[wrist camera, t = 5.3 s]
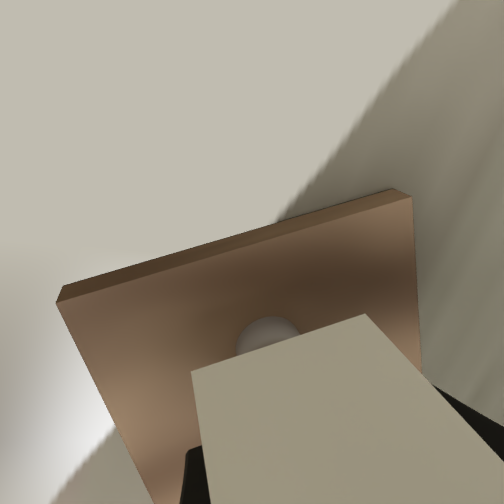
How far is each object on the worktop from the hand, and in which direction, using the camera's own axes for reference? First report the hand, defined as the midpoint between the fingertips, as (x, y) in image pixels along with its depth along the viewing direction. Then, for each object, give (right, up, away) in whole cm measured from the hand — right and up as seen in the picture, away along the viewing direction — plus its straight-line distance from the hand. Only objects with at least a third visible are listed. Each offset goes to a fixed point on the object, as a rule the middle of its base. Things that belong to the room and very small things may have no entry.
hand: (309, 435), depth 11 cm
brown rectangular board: (0, -2, +7) cm, 7 cm away
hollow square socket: (0, 0, +1) cm, 1 cm away
